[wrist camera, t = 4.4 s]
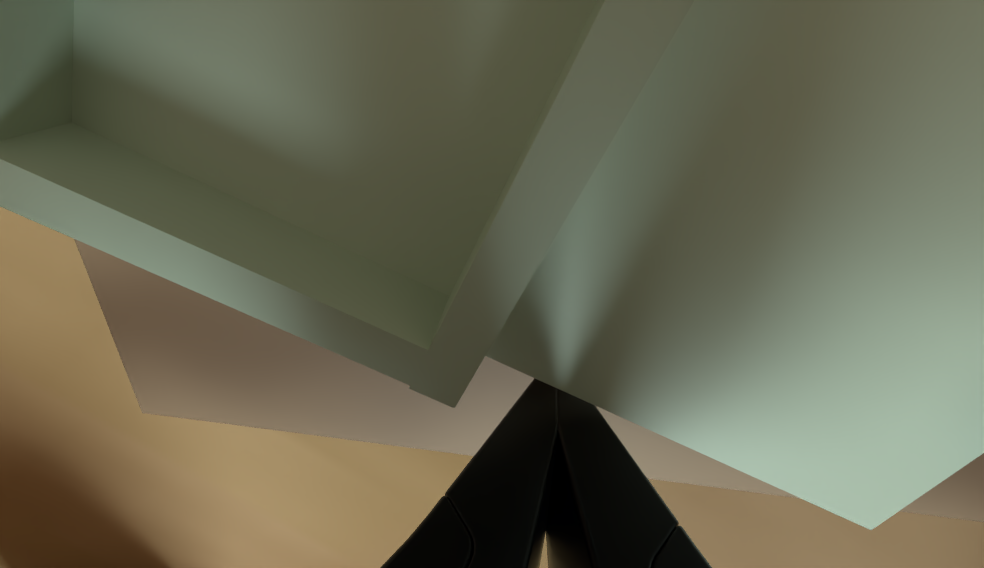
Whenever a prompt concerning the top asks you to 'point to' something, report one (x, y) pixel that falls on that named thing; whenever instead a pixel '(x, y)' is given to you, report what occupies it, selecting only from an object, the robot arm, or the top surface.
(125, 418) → the top surface
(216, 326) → the board
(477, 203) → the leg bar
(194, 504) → the top surface
